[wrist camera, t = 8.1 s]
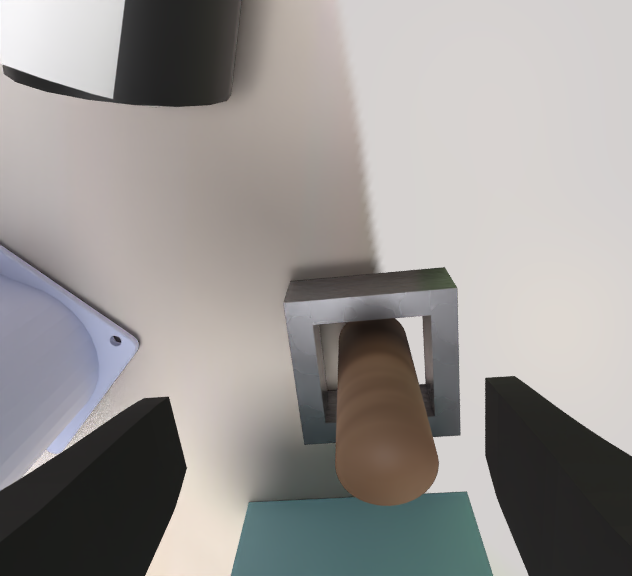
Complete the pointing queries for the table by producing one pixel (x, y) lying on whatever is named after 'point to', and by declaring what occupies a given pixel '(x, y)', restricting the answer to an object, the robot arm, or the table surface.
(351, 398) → the walnut peg
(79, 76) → the security camera
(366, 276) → the gray socket
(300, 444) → the table surface
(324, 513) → the teal block
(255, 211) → the table surface
